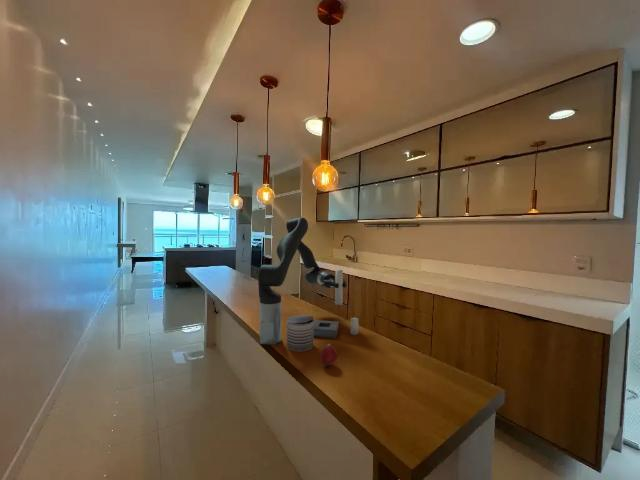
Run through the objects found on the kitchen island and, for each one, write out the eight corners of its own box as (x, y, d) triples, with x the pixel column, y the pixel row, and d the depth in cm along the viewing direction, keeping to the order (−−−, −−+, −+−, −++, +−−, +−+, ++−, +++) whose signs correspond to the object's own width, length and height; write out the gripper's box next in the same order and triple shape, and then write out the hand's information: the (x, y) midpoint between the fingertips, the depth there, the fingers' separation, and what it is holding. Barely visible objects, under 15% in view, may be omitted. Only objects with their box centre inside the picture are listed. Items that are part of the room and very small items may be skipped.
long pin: (342, 305, 135) (342, 270, 134) (334, 304, 135) (335, 270, 135) (342, 303, 138) (343, 269, 138) (335, 302, 139) (335, 269, 138)
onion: (322, 370, 96) (323, 348, 95) (318, 363, 101) (318, 341, 101) (338, 368, 97) (339, 346, 97) (333, 361, 103) (333, 340, 102)
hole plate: (335, 337, 125) (335, 330, 125) (309, 336, 127) (309, 328, 127) (338, 328, 137) (338, 321, 136) (314, 326, 139) (314, 320, 138)
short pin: (358, 335, 128) (358, 320, 128) (350, 334, 129) (350, 319, 129) (358, 332, 132) (358, 317, 132) (350, 331, 132) (350, 317, 132)
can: (301, 354, 108) (301, 324, 108) (280, 346, 115) (280, 318, 115) (319, 344, 117) (319, 316, 117) (298, 338, 124) (299, 311, 124)
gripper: (314, 273, 146) (328, 278, 131) (337, 272, 152) (354, 277, 137) (314, 287, 147) (328, 294, 131) (337, 285, 152) (354, 292, 137)
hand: (341, 285), depth 134 cm, fingers closed on long pin, 3 cm apart
